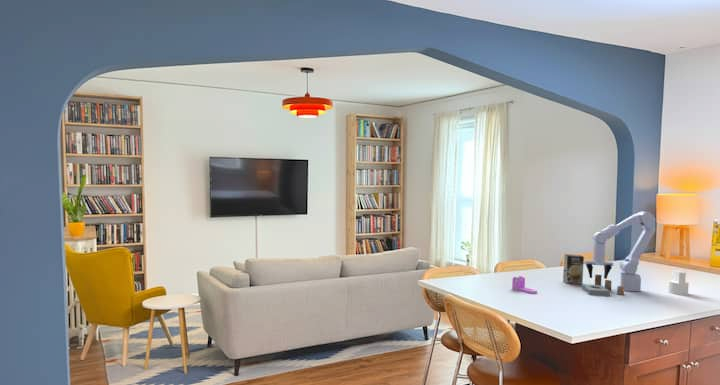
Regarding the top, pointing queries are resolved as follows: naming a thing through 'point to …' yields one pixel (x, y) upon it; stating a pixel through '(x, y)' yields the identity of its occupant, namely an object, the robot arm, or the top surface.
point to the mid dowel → (608, 284)
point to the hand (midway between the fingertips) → (598, 278)
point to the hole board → (595, 290)
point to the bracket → (521, 285)
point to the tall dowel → (598, 279)
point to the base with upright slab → (678, 283)
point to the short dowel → (620, 290)
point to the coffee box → (573, 269)
